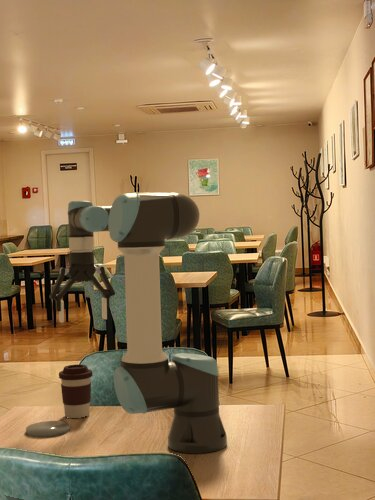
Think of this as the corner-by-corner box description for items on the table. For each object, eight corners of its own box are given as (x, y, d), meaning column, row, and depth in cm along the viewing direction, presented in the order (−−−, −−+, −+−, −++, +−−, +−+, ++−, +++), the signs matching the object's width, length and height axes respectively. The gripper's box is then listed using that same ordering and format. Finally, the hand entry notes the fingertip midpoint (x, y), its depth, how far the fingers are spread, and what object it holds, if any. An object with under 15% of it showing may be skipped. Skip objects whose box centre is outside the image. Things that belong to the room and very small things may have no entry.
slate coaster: (75, 433, 202) (75, 428, 201) (32, 440, 196) (32, 435, 196) (62, 422, 212) (62, 418, 212) (21, 429, 207) (21, 424, 207)
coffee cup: (97, 411, 224) (95, 363, 223) (89, 420, 214) (87, 369, 213) (65, 411, 225) (63, 363, 224) (56, 420, 215) (54, 370, 214)
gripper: (115, 250, 233) (117, 316, 233) (38, 252, 222) (40, 322, 223) (124, 250, 226) (125, 318, 227) (44, 252, 216) (46, 324, 216)
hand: (83, 320), depth 225 cm, fingers open, 13 cm apart
